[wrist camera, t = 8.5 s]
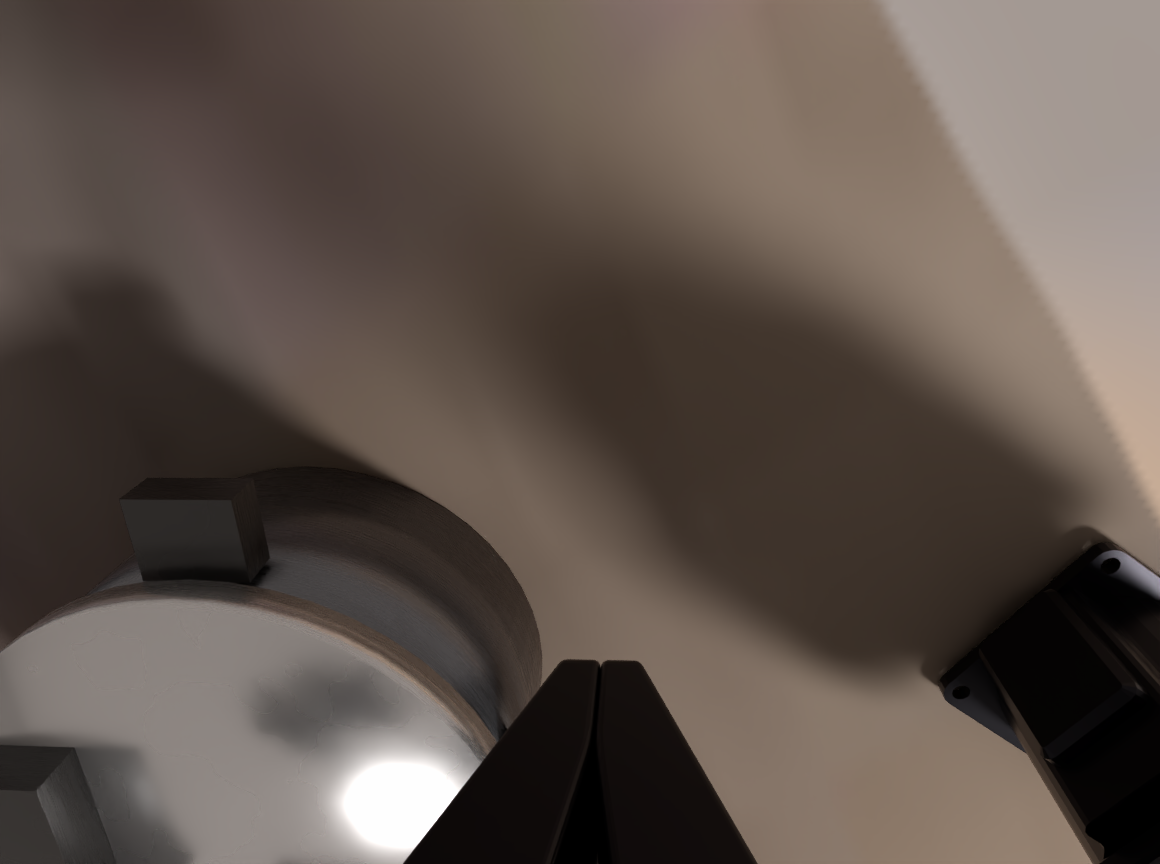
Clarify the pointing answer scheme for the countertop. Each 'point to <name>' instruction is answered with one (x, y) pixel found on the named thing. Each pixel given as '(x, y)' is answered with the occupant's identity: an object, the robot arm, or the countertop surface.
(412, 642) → the cooker pot
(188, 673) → the cooker lid
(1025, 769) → the countertop surface
